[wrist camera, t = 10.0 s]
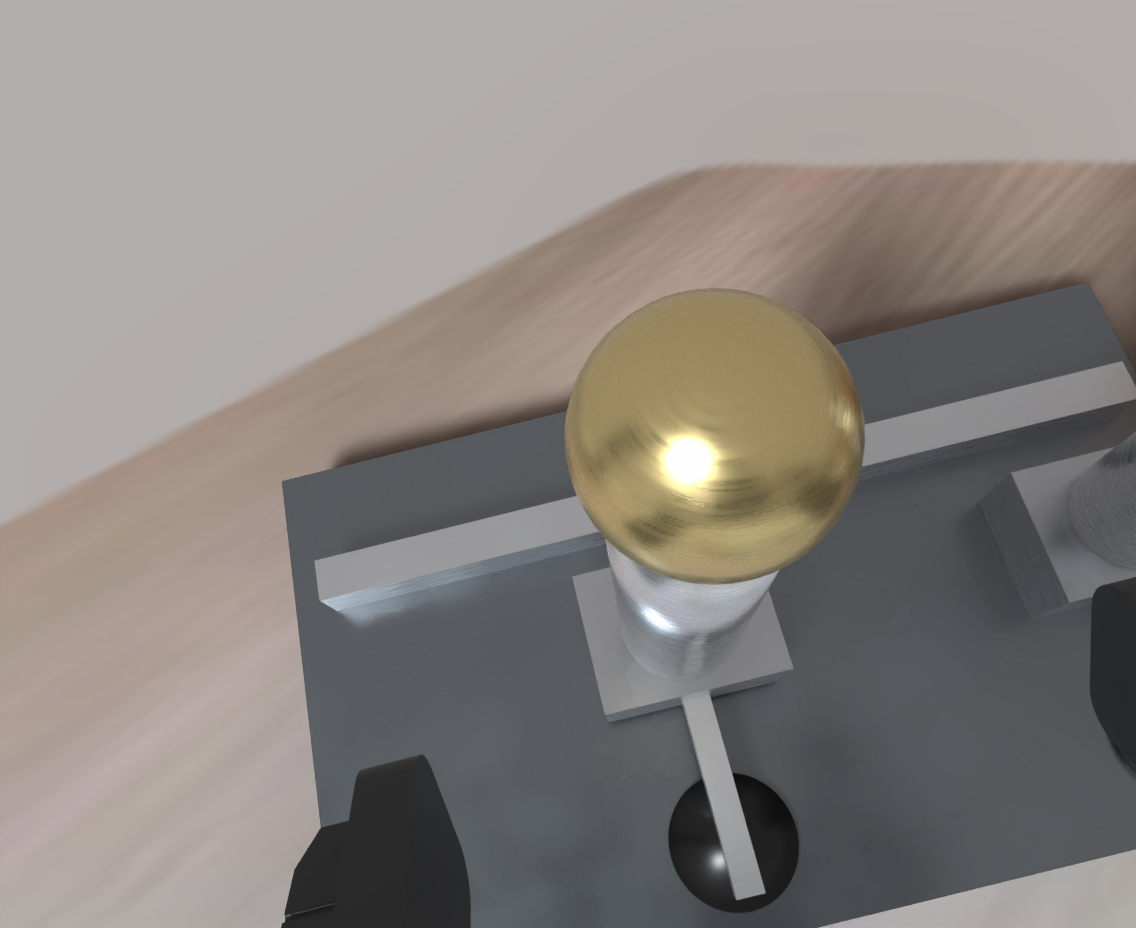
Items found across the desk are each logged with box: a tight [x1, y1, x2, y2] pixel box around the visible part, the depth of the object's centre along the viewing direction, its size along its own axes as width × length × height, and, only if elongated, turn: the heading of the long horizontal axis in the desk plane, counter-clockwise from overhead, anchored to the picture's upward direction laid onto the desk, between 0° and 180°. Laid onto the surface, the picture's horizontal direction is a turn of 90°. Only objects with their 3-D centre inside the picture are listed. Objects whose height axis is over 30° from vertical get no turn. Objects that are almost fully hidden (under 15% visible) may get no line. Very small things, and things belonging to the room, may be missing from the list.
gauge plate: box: [282, 282, 1136, 928], centre depth 21 cm, size 22×13×3 cm, turn 103°
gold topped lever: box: [565, 288, 865, 900], centre depth 13 cm, size 4×7×14 cm, turn 13°
